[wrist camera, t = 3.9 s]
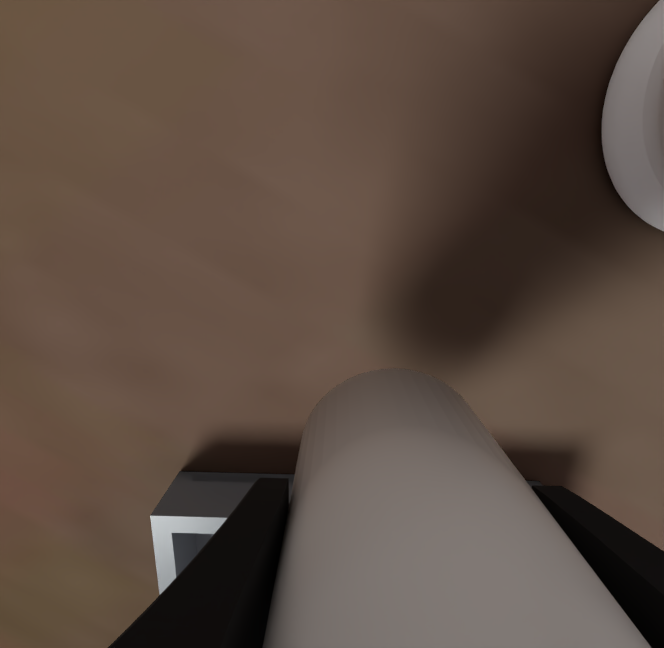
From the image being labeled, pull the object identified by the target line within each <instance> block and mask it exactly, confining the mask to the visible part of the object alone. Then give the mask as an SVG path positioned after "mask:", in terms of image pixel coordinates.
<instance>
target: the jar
mask: <svg viewBox="0 0 664 648" xmlns="http://www.w3.org/2000/svg"><path fill="white" fill-rule="evenodd" d="M602 148H603V154H604V159H605V164H606V168H607V171H608V173H609V176H610V178H611V181H612V183H613V185H614V187H615V189H616V191H617V192H618V194H619V195H620V197H621V198H622V199H623V201H624V202H625V203H626V205H627V206H628V207H629V208H630V209H631V210H632V211H633V212H634V213H635V214H636V215H637V216H639V217H640V218H641V219H642V220H644V221H645V222H647V223H648V224H650V225H652V226H653V227H655V228H657V229H659V230H661V231H664V0H659V1H658V2H657V4H656V5H655V6H654V7H653V8H652V9H651V10H650V11H649V13H648V14H647V15H646V16H645V18H644V19H643V20H642V21H641V23H640V24H639V25H638V27H637V28H636V30H635V31H634V33H633V34H632V36H631V37H630V39H629V41H628V42H627V44H626V46H625V48H624V49H623V51H622V53H621V55H620V57H619V59H618V62H617V64H616V66H615V69H614V71H613V74H612V77H611V79H610V82H609V85H608V89H607V93H606V97H605V102H604V107H603V114H602Z"/></svg>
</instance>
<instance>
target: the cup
mask: <svg viewBox="0 0 664 648" xmlns="http://www.w3.org/2000/svg"><path fill="white" fill-rule="evenodd" d="M262 648H651V646H650V645H649V644H648V642H647V641H646V640H645V638H644V637H643V636H642V634H641V633H640V632H639V630H638V629H637V628H636V626H635V625H634V624H633V622H632V621H631V620H630V618H629V617H628V616H627V614H626V613H625V612H624V610H623V609H622V608H621V606H620V605H619V604H618V602H617V601H616V600H615V599H614V597H613V596H612V595H611V593H610V592H609V591H608V589H607V588H606V587H605V585H604V584H603V583H602V581H601V580H600V579H599V577H598V576H597V575H596V573H595V572H594V571H593V569H592V568H591V567H590V565H589V564H588V563H587V561H586V560H585V559H584V557H583V556H582V555H581V553H580V552H579V551H578V549H577V548H576V547H575V545H574V544H573V543H572V541H571V540H570V539H569V537H568V536H567V535H566V533H565V532H564V531H563V529H562V528H561V527H560V526H559V524H558V523H557V522H556V520H555V519H554V518H553V516H552V515H551V514H550V512H549V511H548V510H547V508H546V507H545V506H544V504H543V503H542V502H541V500H540V499H539V498H538V496H537V495H536V494H535V492H534V491H533V490H532V488H531V487H530V486H529V484H528V483H527V482H526V480H525V479H524V478H523V476H522V475H521V474H520V472H519V471H518V470H517V468H516V467H515V466H514V464H513V463H512V462H511V460H510V459H509V458H508V456H507V455H506V454H505V453H504V451H503V450H502V449H501V447H500V446H499V445H498V443H497V442H496V441H495V439H494V438H493V437H492V435H491V434H490V433H489V431H488V430H487V429H486V427H485V426H484V425H483V423H482V422H481V421H480V419H479V418H478V417H477V415H476V414H475V413H474V411H473V410H472V409H471V407H470V406H469V405H468V404H467V402H466V401H465V400H464V399H463V397H462V396H461V395H460V394H458V393H457V392H456V391H455V390H454V389H453V388H452V387H450V386H449V385H447V384H446V383H444V382H443V381H441V380H439V379H437V378H435V377H433V376H430V375H427V374H425V373H422V372H418V371H413V370H408V369H396V368H395V369H380V370H374V371H369V372H366V373H362V374H359V375H356V376H354V377H352V378H350V379H347V380H346V381H344V382H342V383H341V384H339V385H337V386H336V387H335V388H333V389H332V390H331V391H329V392H328V393H327V394H326V395H325V396H324V397H323V398H322V399H321V400H320V401H319V403H318V404H317V405H316V407H315V408H314V409H313V411H312V412H311V414H310V416H309V418H308V420H307V422H306V425H305V427H304V430H303V434H302V439H301V444H300V449H299V455H298V460H297V465H296V471H295V476H294V481H293V487H292V492H291V497H290V503H289V508H288V513H287V519H286V524H285V529H284V535H283V540H282V545H281V551H280V556H279V561H278V567H277V572H276V577H275V583H274V588H273V593H272V599H271V604H270V609H269V615H268V620H267V625H266V630H265V636H264V641H263V646H262Z"/></svg>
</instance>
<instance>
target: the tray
mask: <svg viewBox="0 0 664 648" xmlns="http://www.w3.org/2000/svg"><path fill="white" fill-rule="evenodd" d="M294 476H295V475H293V474H256V473H219V472H182V471H180V472H179V473H178V475H177V476H176V478H175V479H174V481H173V482H172V484H171V485H170V487H169V488H168V490H167V491H166V493H165V494H164V496H163V497H162V499H161V500H160V502H159V503H158V505H157V506H156V508H155V509H154V511H153V512H152V514H151V515H150V518H151V526H152V534H153V543H154V551H155V560H156V568H157V576H158V585H159V593H160V594H161V593H162V592H163V591H164V590H165V589H166V588H167V587H168V586H169V585H170V584H171V583H172V581H173V580H174V579H175V578H176V577H177V576H178V575H179V574H180V573H181V572H182V571H183V570H184V569H185V567H186V566H187V565H188V564H189V563H190V562H191V561H192V560H193V558H194V557H195V556H196V555H197V554H198V553H199V551H200V550H201V549H202V548H203V547H204V546H205V544H206V543H207V542H208V541H209V540H210V538H211V537H212V536H213V535H214V534H215V533H216V531H217V530H218V529H219V528H220V527H221V525H222V524H223V523H224V522H225V520H226V519H227V518H228V517H229V515H230V514H231V513H232V512H233V510H234V509H235V508H236V507H237V505H238V504H239V503H240V501H241V500H242V499H243V497H244V496H245V495H246V493H247V492H248V491H249V489H250V488H251V487H252V485H253V484H254V483H255V482H256V481H257V480H258V479H259V478H289V503H290V497H291V492H292V487H293V481H294ZM526 482H527V483H528V484H529V486H530V487H531V488H532V485H538V486H543V485H542V484H541V483H540V481H526Z"/></svg>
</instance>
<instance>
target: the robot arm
mask: <svg viewBox="0 0 664 648" xmlns="http://www.w3.org/2000/svg"><path fill="white" fill-rule="evenodd" d="M532 490H533V491H534V492H535V494H536V495H537V496H538V498H539V499H540V500H541V502H542V503H543V504H544V506H545V507H546V508H547V510H548V511H549V512H550V514H551V515H552V516H553V518H554V519H555V520H556V522H557V523H558V524H559V526H560V527H561V528H562V529H563V531H564V532H565V533H566V535H567V536H568V537H569V539H570V540H571V541H572V543H573V544H574V545H575V547H576V548H577V549H578V551H579V552H580V553H581V555H582V556H583V557H584V559H585V560H586V561H587V563H588V564H589V565H590V567H591V568H592V569H593V571H594V572H595V573H596V575H597V576H598V577H599V579H600V580H601V581H602V583H603V584H604V585H605V587H606V588H607V589H608V591H609V592H610V593H611V595H612V596H613V597H614V599H615V600H616V601H617V602H618V604H619V605H620V606H621V608H622V609H623V610H624V612H625V613H626V614H627V616H628V617H629V618H630V620H631V621H632V622H633V624H634V625H635V626H636V628H637V629H638V630H639V632H640V633H641V634H642V636H643V637H644V638H645V640H646V641H647V642H648V644H649V645H650V646H651V648H664V551H662V550H661V549H659V548H658V547H656V546H655V545H653V544H652V543H650V542H649V541H647V540H646V539H644V538H642V537H641V536H639V535H638V534H636V533H635V532H633V531H632V530H630V529H629V528H627V527H626V526H624V525H623V524H621V523H620V522H618V521H617V520H615V519H614V518H612V517H611V516H609V515H607V514H606V513H604V512H603V511H601V510H600V509H598V508H597V507H595V506H594V505H592V504H590V503H589V502H587V501H586V500H584V499H582V498H581V497H579V496H578V495H576V494H574V493H573V492H571V491H569V490H567V489H566V488H564V487H562V486H538V485H532ZM288 508H289V478H259V479H258V480H257V481H256V482H255V483H254V484H253V485H252V487H251V488H250V489H249V491H248V492H247V493H246V495H245V496H244V497H243V499H242V500H241V501H240V503H239V504H238V505H237V507H236V508H235V509H234V510H233V512H232V513H231V514H230V515H229V517H228V518H227V519H226V520H225V522H224V523H223V524H222V525H221V527H220V528H219V529H218V530H217V531H216V533H215V534H214V535H213V536H212V537H211V538H210V540H209V541H208V542H207V543H206V544H205V546H204V547H203V548H202V549H201V550H200V551H199V553H198V554H197V555H196V556H195V557H194V558H193V560H192V561H191V562H190V563H189V564H188V565H187V566H186V567H185V569H184V570H183V571H182V572H181V573H180V574H179V575H178V576H177V577H176V578H175V579H174V580H173V581H172V583H171V584H170V585H169V586H168V587H167V588H166V589H165V590H164V591H163V592H162V593H161V594H160V595H159V596H158V598H157V599H156V600H155V601H154V602H153V603H152V604H151V605H150V606H149V607H148V608H147V609H146V610H145V611H144V612H143V613H142V614H141V615H140V616H139V617H138V618H137V619H136V620H135V621H134V622H133V623H132V624H131V625H130V626H129V627H128V628H127V629H126V630H125V631H124V632H123V633H122V634H121V635H120V636H119V637H118V638H117V639H116V640H115V641H114V642H113V643H112V644H111V645H110V646H109V647H108V648H262V646H263V641H264V636H265V630H266V625H267V620H268V615H269V609H270V604H271V599H272V593H273V588H274V583H275V577H276V572H277V567H278V561H279V556H280V551H281V545H282V540H283V535H284V529H285V524H286V519H287V513H288Z"/></svg>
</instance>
